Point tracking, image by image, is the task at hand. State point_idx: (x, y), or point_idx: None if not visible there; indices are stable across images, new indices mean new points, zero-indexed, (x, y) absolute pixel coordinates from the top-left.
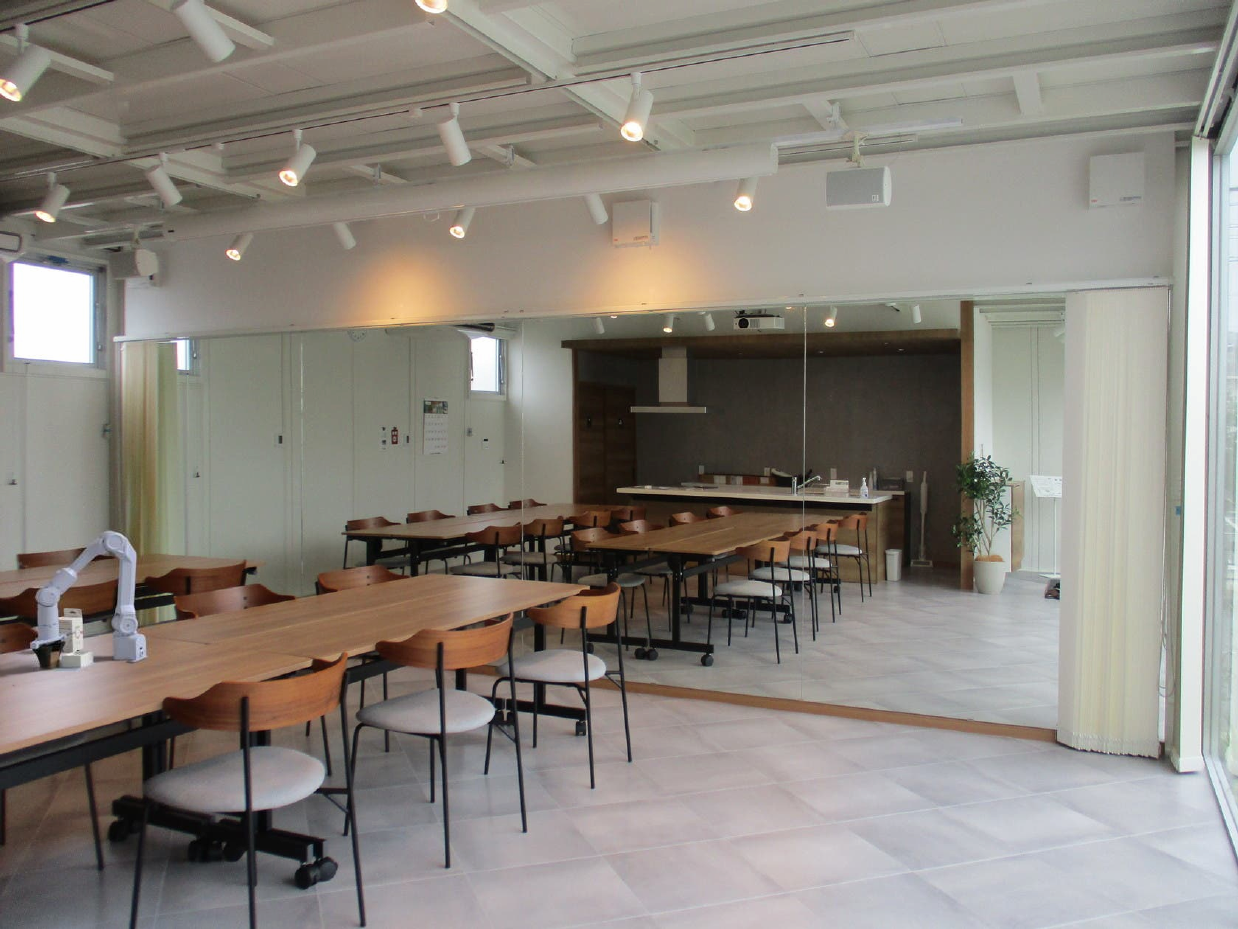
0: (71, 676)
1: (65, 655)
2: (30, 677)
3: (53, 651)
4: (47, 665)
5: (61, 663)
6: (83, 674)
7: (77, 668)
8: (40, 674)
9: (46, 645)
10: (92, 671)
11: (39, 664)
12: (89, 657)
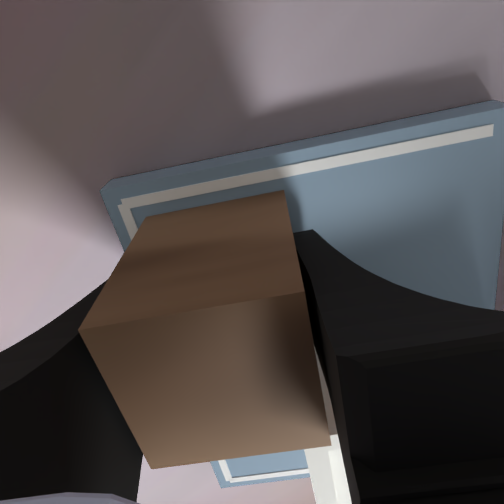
0: (162, 480)
1: (317, 464)
2: (5, 261)
3: (319, 380)
4: None
5: (444, 212)
6: (225, 501)
7: (278, 459)
8: (117, 257)
9: (332, 353)
10: (303, 497)
11: (130, 244)
12: None
